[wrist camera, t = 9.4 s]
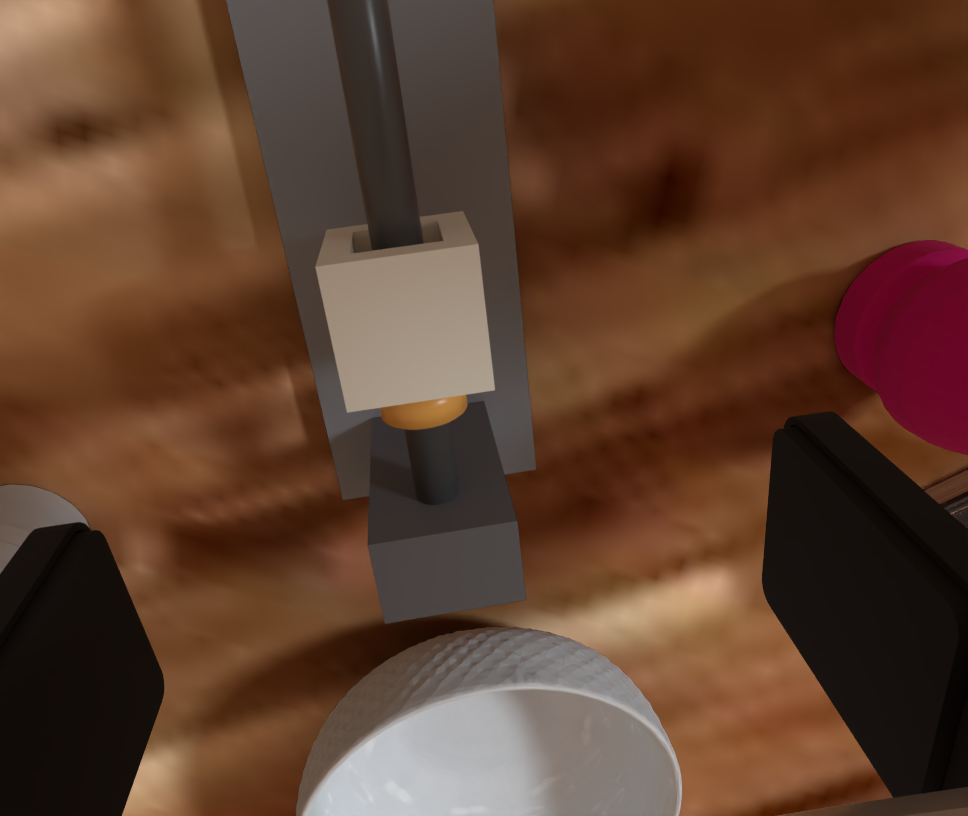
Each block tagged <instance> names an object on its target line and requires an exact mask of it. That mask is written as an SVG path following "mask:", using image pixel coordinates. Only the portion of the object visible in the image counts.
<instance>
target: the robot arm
mask: <svg viewBox="0 0 968 816" xmlns="http://www.w3.org/2000/svg"><path fill="white" fill-rule="evenodd" d="M762 585H763V590H764V594H765V597H766V600H767V602H768V604H769V605H770V607H771V609H772V610H773V612H774V613H775V615H776V616H777V618H778V619H779V621H780V623H781V624H782V626H783V627H784V629H785V630H786V632H787V633H788V635H789V636H790V638H791V640H792V641H793V643H794V644H795V646H796V647H797V649H798V650H799V652H800V654H801V655H802V657H803V658H804V660H805V661H806V663H807V664H808V666H809V667H810V669H811V671H812V672H813V674H814V675H815V677H816V678H817V680H818V681H819V683H820V685H821V686H822V688H823V689H824V691H825V692H826V694H827V695H828V697H829V698H830V700H831V702H832V703H833V705H834V706H835V708H836V709H837V711H838V712H839V714H840V716H841V717H842V719H843V720H844V722H845V723H846V725H847V726H848V728H849V729H850V731H851V733H852V734H853V736H854V737H855V739H856V740H857V742H858V743H859V745H860V747H861V748H862V750H863V751H864V753H865V754H866V756H867V757H868V759H869V760H870V762H871V764H872V765H873V767H874V768H875V770H876V771H877V773H878V774H879V776H880V778H881V779H882V781H883V782H884V784H885V785H886V787H887V788H888V790H889V791H890V793H891V795H892V796H893V798H888V799H881V800H874V801H867V802H861V803H854V804H847V805H840V806H834V807H828V808H822V809H815V810H809V811H803V812H797V813H791V814H785V815H779V816H968V529H967V528H966V527H965V526H964V525H963V524H962V523H960V522H959V521H958V520H957V519H956V518H955V517H954V516H952V515H951V514H950V513H949V512H948V511H947V510H946V509H944V508H943V507H942V506H941V505H940V504H939V503H938V502H936V501H935V500H934V499H933V498H932V497H931V496H930V495H928V494H927V493H926V492H925V491H924V490H923V489H922V488H920V487H919V486H918V485H917V484H916V483H915V482H914V481H912V480H911V479H910V478H909V477H908V476H907V475H906V474H904V473H903V472H902V471H901V470H900V469H899V468H898V467H896V466H895V465H894V464H893V463H892V462H891V461H890V460H888V459H887V458H886V457H885V456H884V455H883V454H882V453H880V452H879V451H878V450H877V449H876V448H875V447H874V446H872V445H871V444H870V443H869V442H868V441H867V440H866V439H864V438H863V437H862V436H861V435H860V434H859V433H858V432H856V431H855V430H854V429H853V428H852V427H851V426H850V425H848V424H847V423H846V422H845V421H844V420H843V419H842V418H840V417H839V416H838V415H837V414H835V413H834V412H822V413H815V414H808V415H802V416H795V417H790V418H789V419H788V420H787V421H786V423H785V425H784V428H783V429H778V430H777V431H776V432H775V434H774V437H773V445H772V458H771V470H770V483H769V496H768V508H767V521H766V533H765V546H764V559H763V571H762ZM163 695H164V678H163V674H162V670H161V668H160V666H159V663H158V661H157V659H156V656H155V654H154V652H153V649H152V647H151V644H150V642H149V640H148V637H147V635H146V633H145V630H144V628H143V626H142V623H141V621H140V618H139V616H138V614H137V611H136V609H135V607H134V604H133V602H132V600H131V597H130V595H129V593H128V590H127V588H126V585H125V583H124V581H123V578H122V576H121V574H120V571H119V569H118V567H117V564H116V562H115V559H114V557H113V555H112V552H111V550H110V548H109V545H108V543H107V541H106V539H105V537H104V535H103V534H102V533H101V532H100V531H97V530H94V531H91V530H90V528H89V527H88V526H87V525H86V524H85V523H82V522H75V523H68V524H62V525H55V526H48V527H41V528H37V529H34V530H33V531H32V532H31V533H30V534H29V535H28V537H27V538H26V539H25V541H24V542H23V543H22V545H21V546H20V547H19V549H18V550H17V552H16V553H15V554H14V556H13V557H12V558H11V560H10V561H9V562H8V564H7V565H6V567H5V568H4V569H3V571H2V572H1V573H0V816H122V813H123V810H124V808H125V805H126V802H127V799H128V796H129V793H130V791H131V788H132V785H133V782H134V779H135V776H136V774H137V771H138V768H139V765H140V762H141V759H142V757H143V754H144V751H145V748H146V745H147V742H148V740H149V737H150V734H151V731H152V728H153V725H154V723H155V720H156V717H157V714H158V711H159V708H160V706H161V703H162V699H163Z"/></svg>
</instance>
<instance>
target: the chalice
mask: <svg viewBox="0 0 968 816" xmlns="http://www.w3.org/2000/svg"><path fill="white" fill-rule="evenodd" d="M75 522H82V523H85V524H86V525H87V526H88V527H89V525H88V523H87V521H86V519H85V517H84V516H83V515H82V514H81V513H80V512H79V511H78V510H77V509H76V508H75V507H74V506H73V505H72V504H71V503H70V502H68V501H66V500H65V499H63V498H61V497H60V496H58V495H57V494H55V493H53V492H50V491H47V490H44V489H40V488H37V487H34V486H27V485H14V484H9V485H3V486H0V573H1V572H2V571H3V569H4V568H5V567H6V565H7V564H8V562H9V561H10V560H11V558H12V557H13V556H14V554H15V553H16V552H17V550H18V549H19V547H20V546H21V545H22V543H23V542H24V541H25V539H26V538H27V537H28V535H29V534H30V533H31V532H32V531H33V530H34V529H37V528H41V527H48V526H55V525H62V524H68V523H75ZM89 528H90V527H89ZM90 530H91V529H90Z"/></svg>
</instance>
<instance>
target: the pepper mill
mask: <svg viewBox="0 0 968 816" xmlns="http://www.w3.org/2000/svg"><path fill="white" fill-rule="evenodd" d="M834 339H835V345H836V349H837V353H838V355H839V357H840V359H841V362H842V363H843V365H844V366H845V367H846V369H847V370H848V371H849V372H850V373H851V374H853V375H854V376H855V377H857V378H858V379H860V380H861V381H862V382H864V383H865V384H867V385H868V386H869V387H871V388H872V389H874V390H875V391H876V392H878V393H879V396H880V398H881V400H882V402H883V405H884V407H885V408H886V410H887V411H888V412H889V414H890V415H891V416H892V417H893V418H894V420H895V421H896V422H898V423H899V424H900V425H901V426H902V427H903V428H905V429H906V430H908V431H910V432H911V433H913V434H915V435H916V436H918V437H920V438H922V439H923V440H925V441H927V442H929V443H931V444H934V445H936V446H939V447H941V448H944V449H947V450H951V451H954V452H958V453H962V454H965V455H968V250H967V249H964V248H961V247H958V246H955V245H952V244H949V243H946V242H941V241H936V240H925V241H917V242H913V243H909V244H905V245H902V246H899V247H897V248H894V249H892V250H890V251H889V252H887V253H886V254H884V255H882V256H881V257H879V258H878V259H876V260H875V261H873V262H872V263H871V264H870V265H869V266H868V267H867V268H866V269H865V270H864V271H863V272H862V273H861V274H859V275H858V276H857V277H856V278H855V280H854V282H853V283H852V285H851V286H850V288H849V289H848V291H847V292H846V294H845V295H844V298H843V300H842V303H841V305H840V308H839V310H838V313H837V315H836V321H835V333H834Z"/></svg>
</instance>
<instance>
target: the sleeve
mask: <svg viewBox="0 0 968 816" xmlns="http://www.w3.org/2000/svg"><path fill="white" fill-rule="evenodd" d="M420 222H421V229H422V235H423V242H424V244H417V245H410V246H403V247H395V248H388V249H381V250H374V251H372V247H371V242H370V236H369V231H368V225H367V224H364V225H357V226H350V227H342V228H335V229H328V230H326V233H325V237H324V240H323V243H322V247H321V250H320V253H319V256H318V260H317V263H316V266H315V268H316V272H317V277H318V281H319V286H320V291H321V295H322V300H323V304H324V309H325V314H326V318H327V323H328V328H329V332H330V337H331V341H332V346H333V351H334V355H335V360H336V364H337V369H338V374H339V378H340V383H341V387H342V392H343V397H344V401H345V406H346V410H347V413H349V412H355V411H362V410H368V409H375V408H382V407H388V406H395V405H401V404H408V403H414V402H421V401H428V400H434V399H441V398H447V397H454V396H461V395H467V394H474V393H480V392H487V391H494V390H495V385H494V376H493V368H492V359H491V350H490V341H489V333H488V324H487V315H486V306H485V298H484V289H483V280H482V271H481V263H480V254H479V245H478V242H477V240H476V238H475V236H474V234H473V231H472V229H471V227H470V225H469V223H468V221H467V218H466V216H465V214H464V212H463V211H459V212H451V213H444V214H437V215H430V216H422V217H420Z"/></svg>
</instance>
